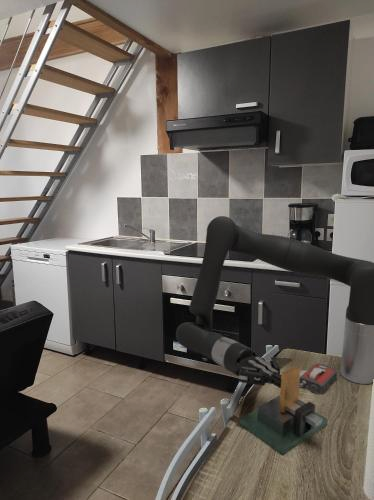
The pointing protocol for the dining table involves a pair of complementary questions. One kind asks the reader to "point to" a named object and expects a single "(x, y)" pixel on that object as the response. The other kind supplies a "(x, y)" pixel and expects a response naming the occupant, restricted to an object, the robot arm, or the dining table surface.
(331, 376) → the walkie-talkie
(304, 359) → the dining table surface
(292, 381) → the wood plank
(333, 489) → the dining table surface
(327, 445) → the dining table surface
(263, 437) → the green tiered platform
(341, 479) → the dining table surface
